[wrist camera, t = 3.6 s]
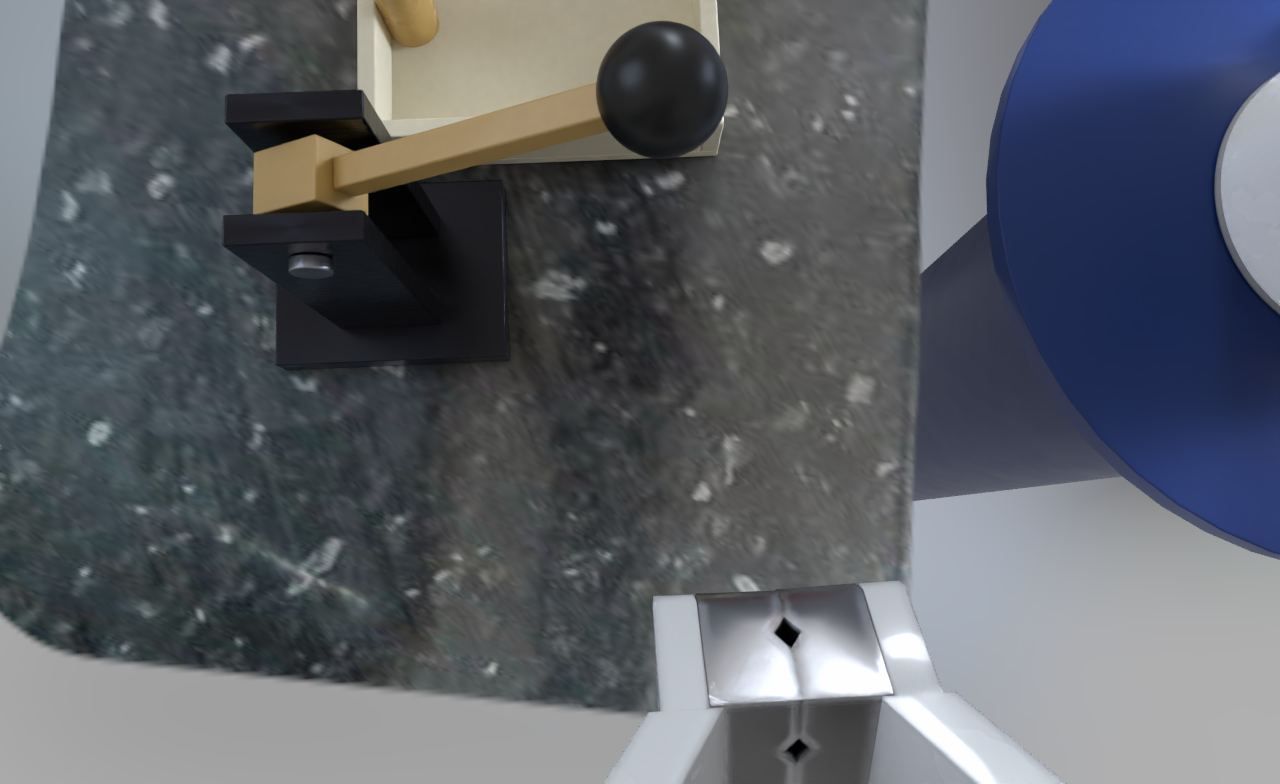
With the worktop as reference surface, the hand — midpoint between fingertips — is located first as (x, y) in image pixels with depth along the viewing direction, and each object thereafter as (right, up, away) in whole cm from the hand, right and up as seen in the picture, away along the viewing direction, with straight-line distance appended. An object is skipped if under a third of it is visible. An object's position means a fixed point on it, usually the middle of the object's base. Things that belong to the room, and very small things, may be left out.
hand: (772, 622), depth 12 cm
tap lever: (-6, +10, +19) cm, 23 cm away
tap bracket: (-13, +8, +33) cm, 36 cm away
